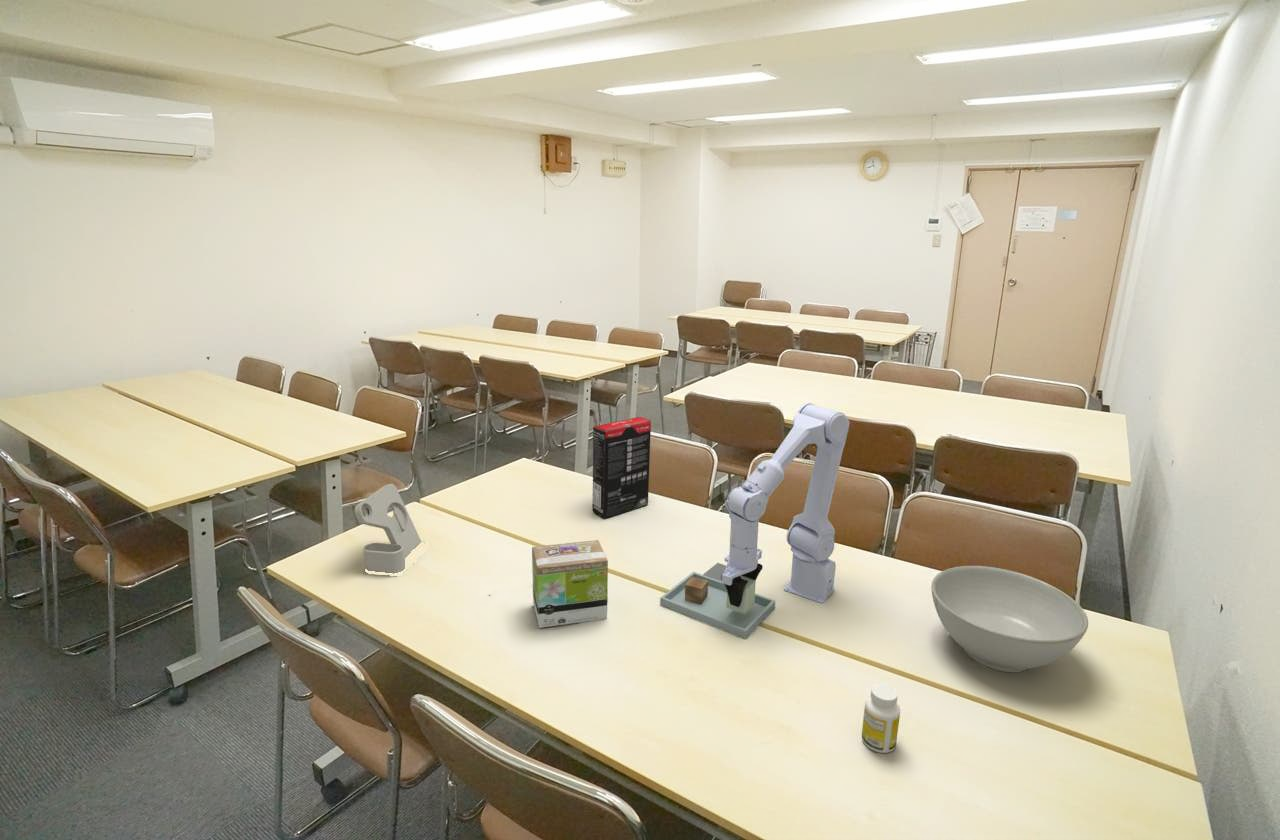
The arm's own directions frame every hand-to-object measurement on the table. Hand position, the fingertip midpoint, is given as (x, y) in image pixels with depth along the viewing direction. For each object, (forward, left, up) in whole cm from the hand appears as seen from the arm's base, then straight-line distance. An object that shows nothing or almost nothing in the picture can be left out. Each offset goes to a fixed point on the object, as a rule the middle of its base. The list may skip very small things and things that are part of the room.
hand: (740, 599), depth 141 cm
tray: (+6, 0, -4) cm, 7 cm away
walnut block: (+11, 0, -4) cm, 12 cm away
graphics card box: (+55, -29, -4) cm, 62 cm away
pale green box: (0, 0, -2) cm, 2 cm away
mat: (+11, -12, -4) cm, 17 cm away
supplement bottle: (-35, +19, -4) cm, 40 cm away
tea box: (+31, +21, -4) cm, 37 cm away
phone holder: (+82, +29, -4) cm, 87 cm away
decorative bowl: (-47, -19, -4) cm, 51 cm away
